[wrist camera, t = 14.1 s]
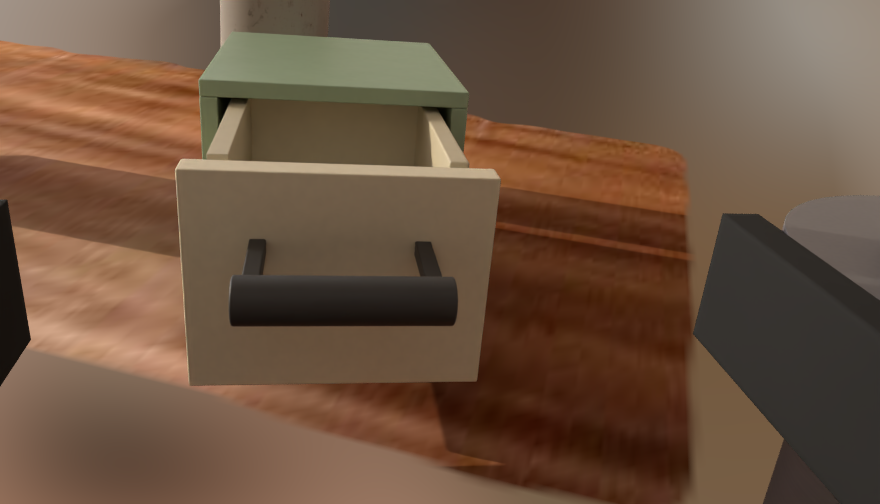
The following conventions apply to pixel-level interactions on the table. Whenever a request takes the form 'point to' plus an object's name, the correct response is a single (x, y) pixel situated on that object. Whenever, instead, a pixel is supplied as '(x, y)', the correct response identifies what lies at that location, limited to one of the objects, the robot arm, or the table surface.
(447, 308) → the drawer
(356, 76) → the cabinet
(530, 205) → the table surface
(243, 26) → the thermos bottle
